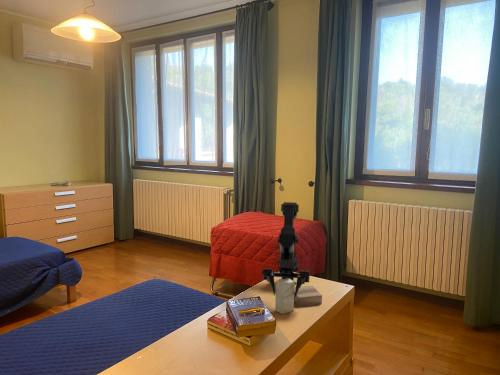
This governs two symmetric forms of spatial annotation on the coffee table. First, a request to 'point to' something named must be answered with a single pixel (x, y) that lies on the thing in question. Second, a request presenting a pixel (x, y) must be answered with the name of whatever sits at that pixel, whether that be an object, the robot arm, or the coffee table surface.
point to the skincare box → (284, 295)
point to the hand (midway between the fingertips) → (284, 295)
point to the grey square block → (307, 296)
